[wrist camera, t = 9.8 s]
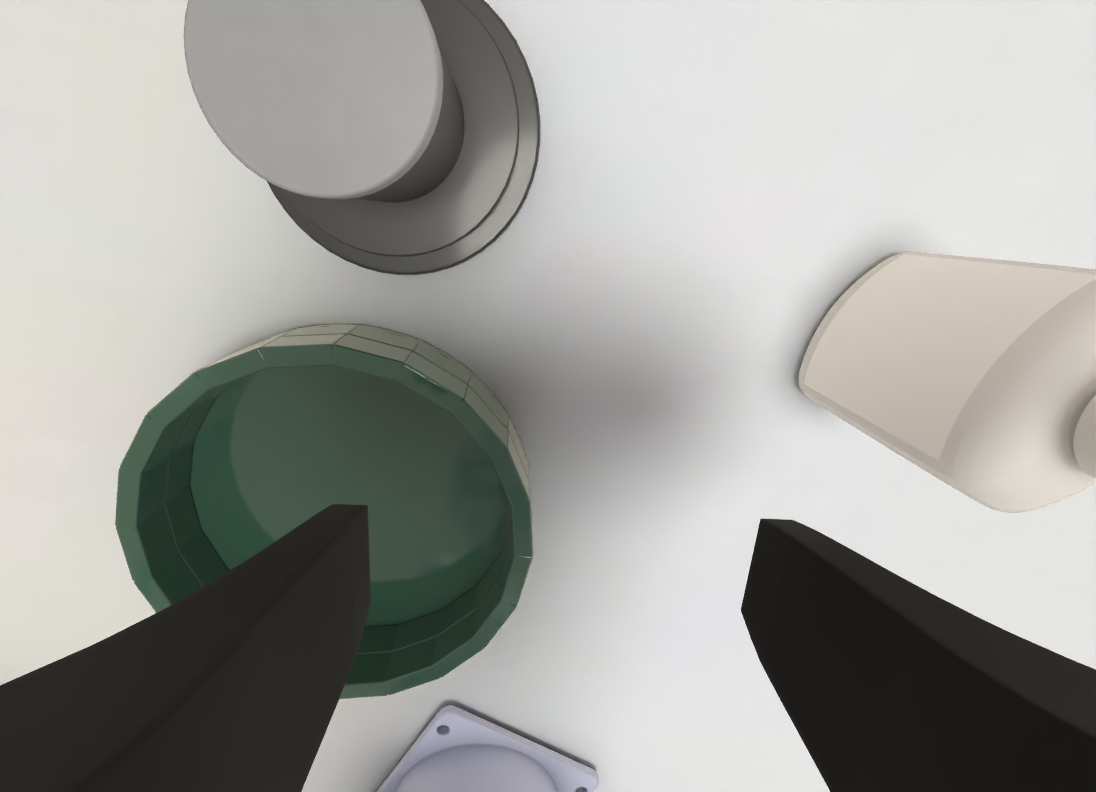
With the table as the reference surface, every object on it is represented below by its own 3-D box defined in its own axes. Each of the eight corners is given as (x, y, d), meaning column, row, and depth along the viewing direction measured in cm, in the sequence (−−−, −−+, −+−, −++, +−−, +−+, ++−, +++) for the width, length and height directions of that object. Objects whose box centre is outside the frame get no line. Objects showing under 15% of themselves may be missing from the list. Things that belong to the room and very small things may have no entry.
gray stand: (450, 320, 18) (442, 333, 16) (215, 171, 16) (176, 165, 14) (591, 95, 16) (601, 79, 14) (344, -101, 14) (318, -149, 12)
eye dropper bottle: (765, 319, 19) (1168, 484, 7) (922, 235, 18) (1632, 268, 7) (809, 423, 20) (1208, 703, 8) (957, 348, 19) (1599, 539, 8)
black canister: (416, 235, 15) (364, 245, 10) (277, 143, 14) (140, 100, 9) (496, 98, 14) (485, 30, 9) (353, -9, 13) (249, -155, 8)
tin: (422, 676, 22) (407, 748, 19) (124, 539, 20) (53, 597, 17) (595, 444, 20) (610, 486, 17) (276, 247, 17) (224, 254, 14)
